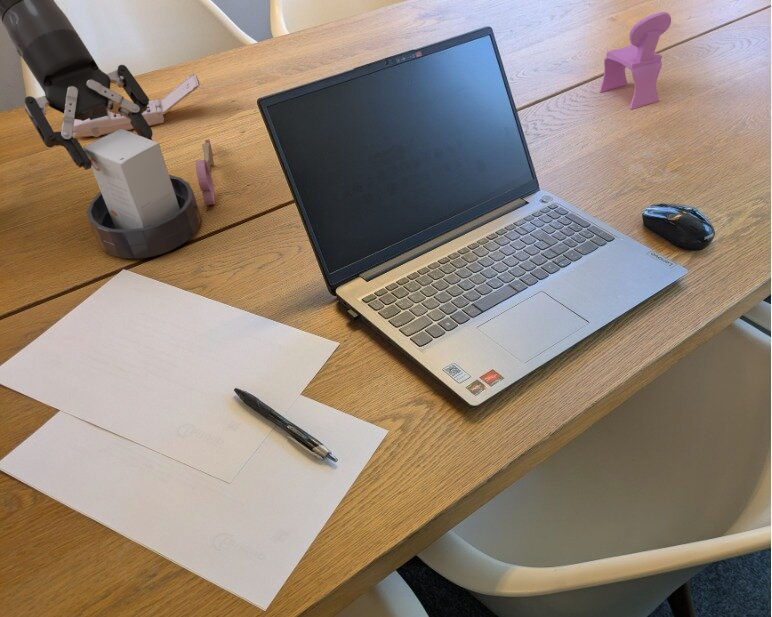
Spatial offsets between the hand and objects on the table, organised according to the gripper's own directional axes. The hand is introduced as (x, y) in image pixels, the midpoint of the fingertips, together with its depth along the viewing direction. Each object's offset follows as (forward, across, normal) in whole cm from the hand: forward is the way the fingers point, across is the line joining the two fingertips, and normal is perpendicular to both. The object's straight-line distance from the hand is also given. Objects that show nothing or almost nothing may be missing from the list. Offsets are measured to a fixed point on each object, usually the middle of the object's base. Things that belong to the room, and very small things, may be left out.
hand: (119, 154), depth 86 cm
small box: (+9, 0, +8) cm, 12 cm away
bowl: (+9, 0, +8) cm, 12 cm away
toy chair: (+28, +80, -12) cm, 86 cm away
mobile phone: (-14, +15, +31) cm, 37 cm away
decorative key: (+5, +14, +12) cm, 19 cm away
